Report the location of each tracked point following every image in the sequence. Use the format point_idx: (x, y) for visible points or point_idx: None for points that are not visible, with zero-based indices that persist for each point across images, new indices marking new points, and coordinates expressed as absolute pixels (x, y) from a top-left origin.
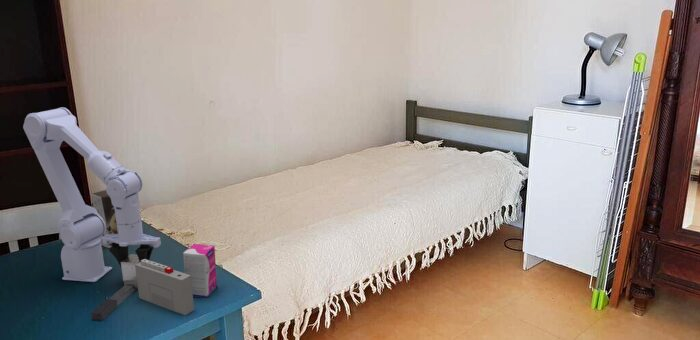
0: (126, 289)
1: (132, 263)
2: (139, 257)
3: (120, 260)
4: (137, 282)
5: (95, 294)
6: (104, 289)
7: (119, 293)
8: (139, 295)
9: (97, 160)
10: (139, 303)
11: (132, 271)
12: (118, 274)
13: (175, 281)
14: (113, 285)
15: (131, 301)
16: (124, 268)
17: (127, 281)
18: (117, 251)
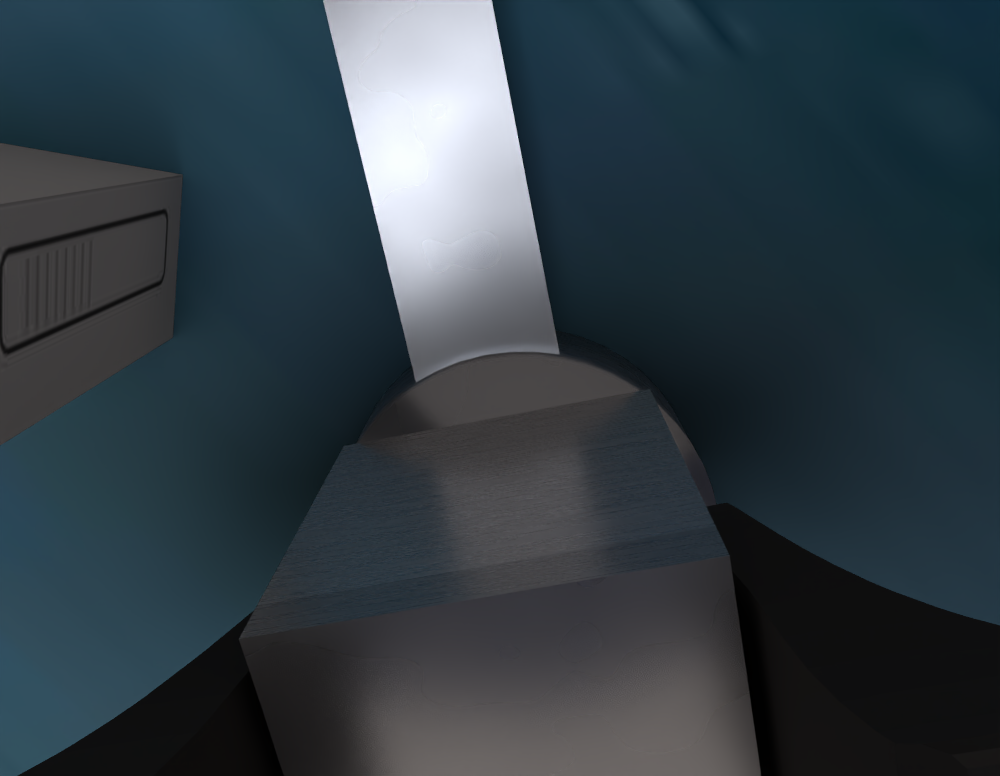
0: (407, 191)
1: (393, 603)
2: (113, 774)
3: (777, 606)
4: (35, 195)
5: (929, 19)
6: (892, 205)
7: (413, 25)
8: (148, 174)
9: None
10: (52, 40)
11: (444, 502)
12: None
13: None
14: (838, 353)
15: (212, 46)
16: (621, 494)
17: (556, 387)
18: (879, 741)
